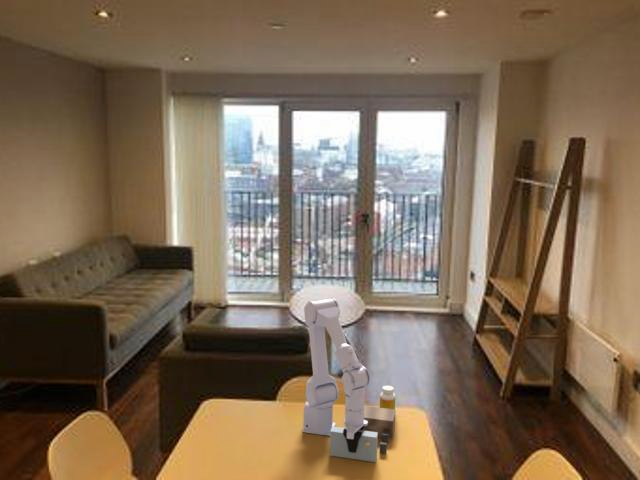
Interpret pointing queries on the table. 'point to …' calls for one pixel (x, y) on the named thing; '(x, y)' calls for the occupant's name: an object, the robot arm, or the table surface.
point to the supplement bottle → (387, 397)
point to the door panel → (364, 448)
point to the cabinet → (380, 423)
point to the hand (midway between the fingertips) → (353, 448)
